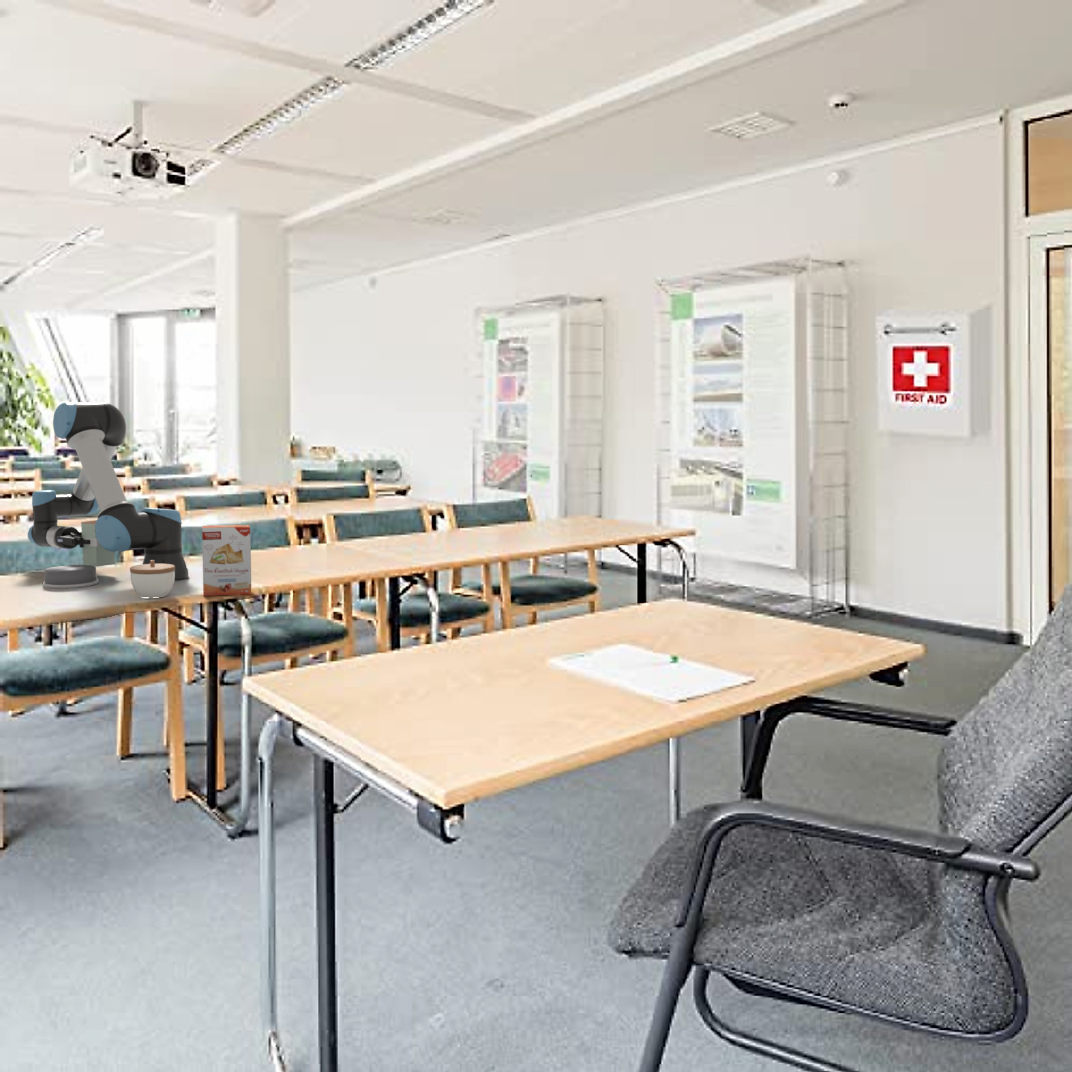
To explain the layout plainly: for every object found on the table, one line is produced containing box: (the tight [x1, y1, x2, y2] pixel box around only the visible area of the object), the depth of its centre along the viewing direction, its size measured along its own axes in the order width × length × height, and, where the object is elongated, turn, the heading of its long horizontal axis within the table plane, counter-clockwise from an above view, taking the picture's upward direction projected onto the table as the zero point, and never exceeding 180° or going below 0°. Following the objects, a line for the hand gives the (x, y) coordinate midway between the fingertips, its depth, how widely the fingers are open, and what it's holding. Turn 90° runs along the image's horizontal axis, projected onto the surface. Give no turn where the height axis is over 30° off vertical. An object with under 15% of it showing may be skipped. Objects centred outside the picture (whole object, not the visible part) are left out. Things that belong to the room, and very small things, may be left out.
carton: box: [80, 519, 116, 567], centre depth 348 cm, size 7×7×14 cm
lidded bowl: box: [129, 560, 176, 598], centre depth 310 cm, size 13×13×11 cm
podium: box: [42, 564, 99, 589], centre depth 332 cm, size 16×16×5 cm
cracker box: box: [201, 524, 252, 597], centre depth 315 cm, size 14×6×21 cm, turn 105°
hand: (107, 541), depth 345 cm, fingers closed on carton, 7 cm apart
